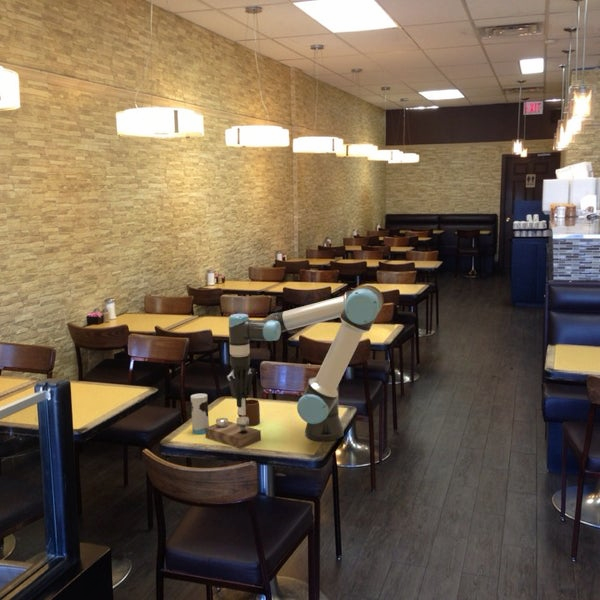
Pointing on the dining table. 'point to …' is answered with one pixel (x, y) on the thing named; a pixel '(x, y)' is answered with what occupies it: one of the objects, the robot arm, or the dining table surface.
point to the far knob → (222, 422)
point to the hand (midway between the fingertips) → (241, 414)
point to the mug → (252, 412)
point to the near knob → (243, 423)
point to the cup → (199, 413)
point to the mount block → (233, 435)
